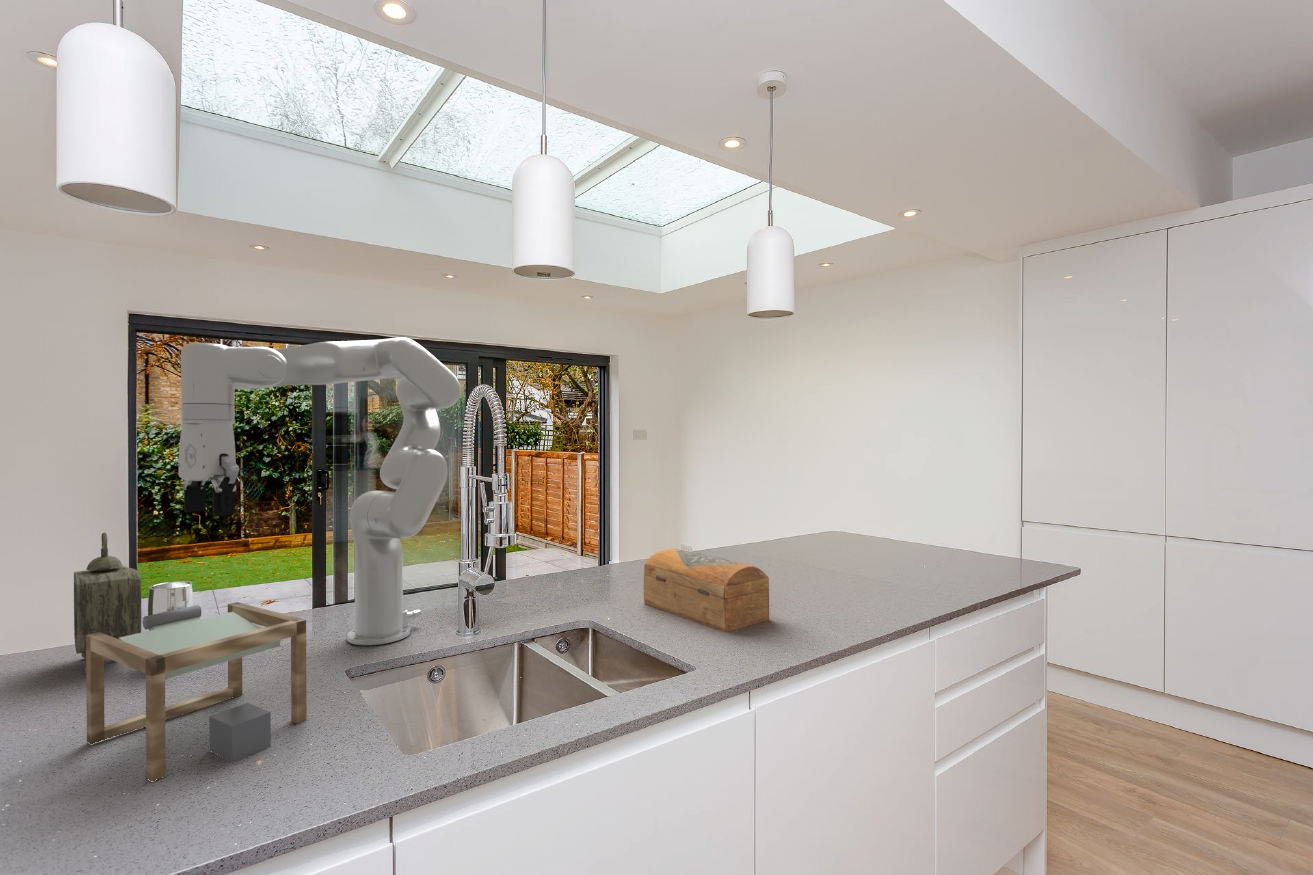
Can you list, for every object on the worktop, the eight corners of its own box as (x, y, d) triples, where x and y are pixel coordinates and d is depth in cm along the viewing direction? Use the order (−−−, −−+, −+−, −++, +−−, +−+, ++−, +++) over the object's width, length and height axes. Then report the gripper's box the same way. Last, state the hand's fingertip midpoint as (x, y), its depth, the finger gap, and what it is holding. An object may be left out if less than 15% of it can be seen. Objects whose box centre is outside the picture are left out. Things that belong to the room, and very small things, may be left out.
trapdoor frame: (237, 692, 107) (237, 601, 107) (306, 719, 97) (306, 619, 97) (86, 743, 90) (85, 634, 90) (151, 782, 80) (150, 660, 80)
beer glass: (140, 671, 117) (139, 590, 116) (159, 658, 123) (158, 581, 123) (184, 667, 118) (183, 588, 118) (200, 654, 125) (199, 579, 125)
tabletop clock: (74, 658, 123) (73, 531, 123) (134, 647, 130) (133, 526, 129) (77, 679, 113) (76, 540, 113) (142, 665, 119) (141, 534, 119)
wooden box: (773, 620, 149) (773, 561, 149) (723, 633, 139) (723, 571, 139) (690, 594, 173) (690, 544, 173) (642, 604, 163) (642, 550, 163)
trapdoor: (221, 611, 105) (223, 597, 104) (279, 646, 96) (280, 631, 96) (108, 637, 92) (109, 621, 91) (164, 679, 83) (165, 662, 83)
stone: (247, 702, 92) (270, 711, 89) (247, 736, 92) (270, 747, 89) (209, 716, 88) (232, 726, 85) (209, 751, 88) (232, 763, 85)
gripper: (159, 415, 110) (160, 512, 110) (209, 414, 102) (210, 519, 102) (207, 416, 117) (207, 508, 117) (258, 415, 108) (259, 514, 108)
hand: (209, 513), depth 109 cm, fingers open, 9 cm apart
